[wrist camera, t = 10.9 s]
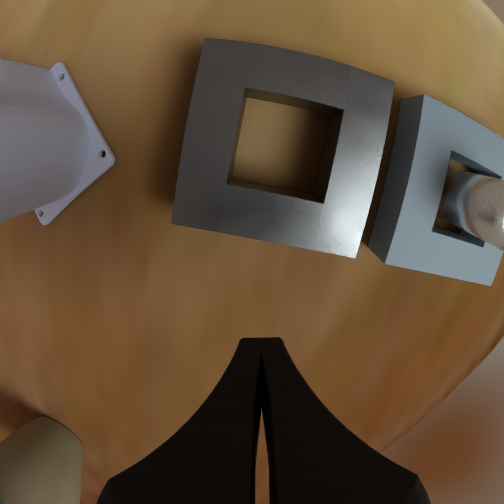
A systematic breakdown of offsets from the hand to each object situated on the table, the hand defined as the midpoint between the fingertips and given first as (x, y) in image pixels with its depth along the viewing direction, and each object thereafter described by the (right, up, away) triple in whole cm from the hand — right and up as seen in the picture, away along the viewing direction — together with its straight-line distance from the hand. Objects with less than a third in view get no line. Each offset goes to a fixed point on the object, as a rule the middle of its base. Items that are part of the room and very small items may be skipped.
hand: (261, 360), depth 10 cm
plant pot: (-27, -21, +19) cm, 39 cm away
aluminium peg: (+13, +8, +7) cm, 17 cm away
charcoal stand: (+1, +10, +7) cm, 12 cm away
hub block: (+13, +8, +7) cm, 17 cm away
